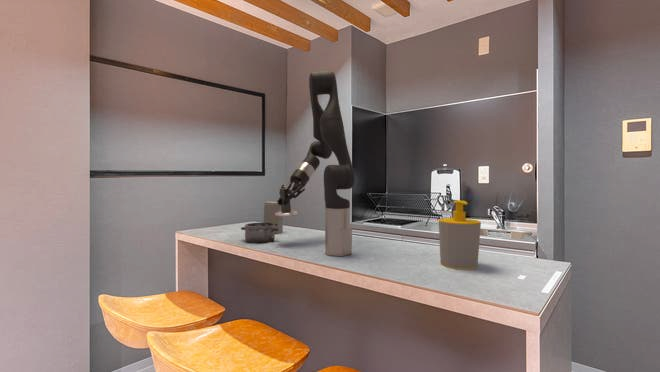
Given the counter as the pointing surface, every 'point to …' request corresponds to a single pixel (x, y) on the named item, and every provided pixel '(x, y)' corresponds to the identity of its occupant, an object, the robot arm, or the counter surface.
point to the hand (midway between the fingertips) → (281, 203)
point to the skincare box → (273, 215)
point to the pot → (259, 232)
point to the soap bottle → (459, 240)
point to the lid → (285, 208)
